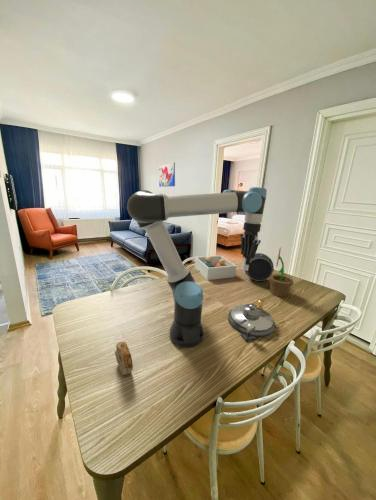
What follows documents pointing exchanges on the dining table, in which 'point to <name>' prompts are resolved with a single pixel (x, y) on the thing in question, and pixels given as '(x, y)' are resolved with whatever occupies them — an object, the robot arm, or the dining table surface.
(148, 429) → the dining table surface
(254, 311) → the cover
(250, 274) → the dark decorated bowl
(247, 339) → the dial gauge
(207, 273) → the parts crate
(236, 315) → the turntable
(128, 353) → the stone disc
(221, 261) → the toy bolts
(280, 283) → the flowerpot
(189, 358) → the dining table surface
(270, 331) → the turntable base
